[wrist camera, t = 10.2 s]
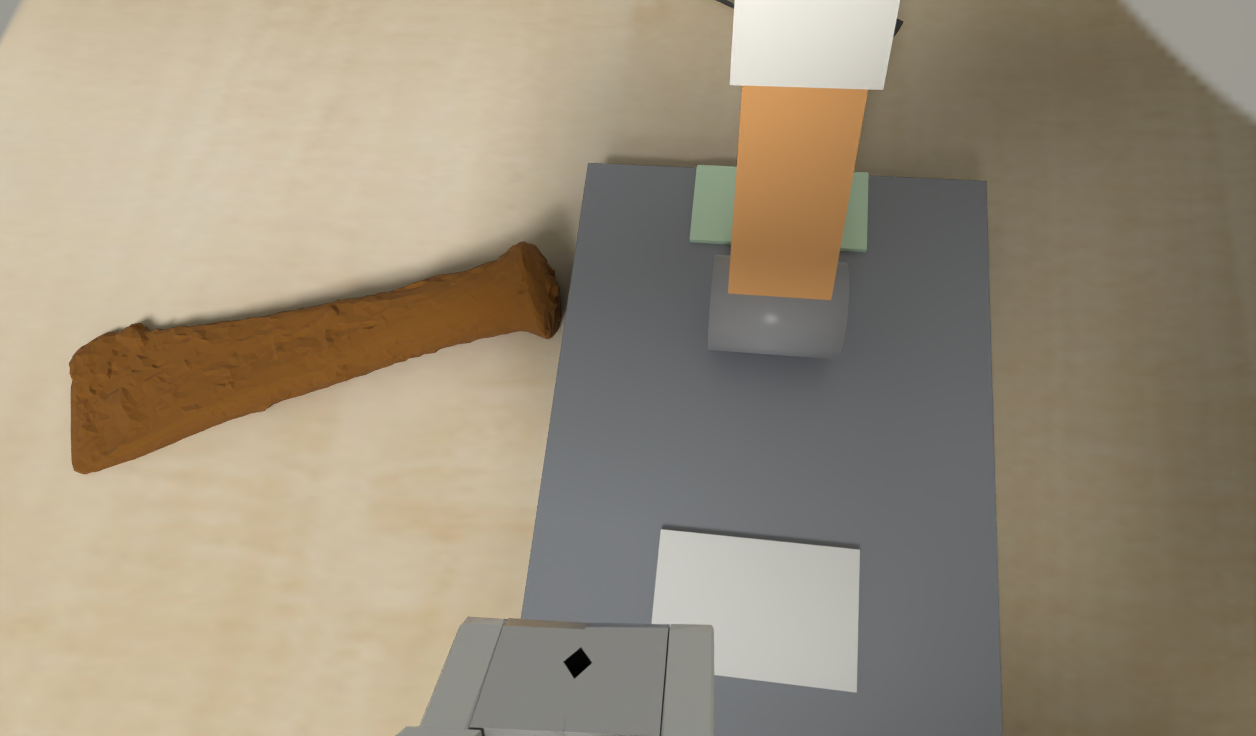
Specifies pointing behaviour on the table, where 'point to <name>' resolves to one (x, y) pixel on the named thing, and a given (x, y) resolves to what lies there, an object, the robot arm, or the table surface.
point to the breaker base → (783, 462)
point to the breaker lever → (795, 170)
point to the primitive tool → (287, 354)
